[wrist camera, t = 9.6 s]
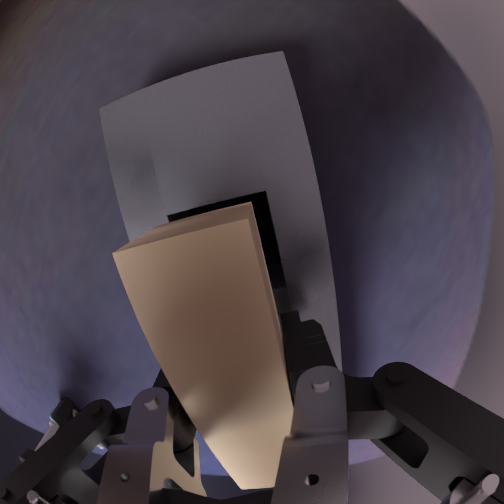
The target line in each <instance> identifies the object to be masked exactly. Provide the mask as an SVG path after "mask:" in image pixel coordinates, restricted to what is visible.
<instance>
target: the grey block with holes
mask: <svg viewBox="0 0 504 504" xmlns="http://www.w3.org/2000/svg"><path fill="white" fill-rule="evenodd" d="M99 110H100V117H101V123H102V129H103V135H104V141H105V146H106V151H107V156H108V161H109V165H110V170H111V174H112V179H113V183H114V187H115V191H116V195H117V199H118V203H119V206H120V210H121V214H122V217H123V221H124V224H125V227H126V231H127V234H128V237H129V241H130V242H131V241H133V240H134V239H136V238H138V237H139V236H141V235H143V234H144V233H146V232H148V231H149V230H151V229H153V228H154V227H156V226H158V225H162V224H165V223H169V222H172V221H176V220H180V219H183V218H187V217H189V216H188V212H187V210H189V209H192V208H196V207H200V206H204V205H208V204H212V203H215V202H219V201H223V200H228V199H232V198H236V197H240V196H244V195H249V194H253V193H257V192H262V191H265V192H266V197H267V201H268V205H269V210H270V214H271V219H272V223H273V228H274V232H275V237H276V241H277V246H278V251H279V255H280V260H281V264H276V265H271V266H267V270H268V274H269V279H270V283H271V287H272V292H273V296H274V301H275V305H276V309H277V314H278V318H279V323H280V327H281V331H282V325H281V317H280V314H281V313H286V312H290V311H295V310H298V312H299V316H300V320H301V322H302V321H307V320H311V319H314V320H315V321H317V322H318V323H320V324H321V325H322V328H323V331H324V334H325V336H326V339H327V341H328V344H329V347H330V350H331V352H332V355H333V358H334V360H335V363H336V366H337V368H338V369H339V370H340V371H341V372H342V360H341V345H340V333H339V322H338V312H337V302H336V293H335V285H334V277H333V270H332V262H331V256H330V249H329V242H328V236H327V230H326V224H325V218H324V213H323V207H322V202H321V197H320V192H319V187H318V182H317V177H316V172H315V167H314V163H313V158H312V154H311V150H310V145H309V141H308V137H307V133H306V129H305V125H304V121H303V117H302V113H301V110H300V106H299V102H298V99H297V95H296V92H295V88H294V85H293V81H292V78H291V75H290V71H289V68H288V65H287V62H286V59H285V56H284V53H283V51H279V52H273V53H266V54H261V55H255V56H250V57H245V58H240V59H236V60H231V61H227V62H223V63H219V64H215V65H211V66H208V67H204V68H201V69H197V70H194V71H191V72H188V73H184V74H181V75H178V76H175V77H173V78H170V79H167V80H164V81H161V82H159V83H156V84H154V85H151V86H148V87H146V88H144V89H141V90H139V91H136V92H134V93H132V94H129V95H127V96H125V97H123V98H121V99H118V100H116V101H114V102H112V103H110V104H108V105H106V106H104V107H102V108H100V109H99ZM282 336H283V332H282ZM283 340H284V339H283Z"/></svg>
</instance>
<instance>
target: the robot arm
mask: <svg viewBox="0 0 504 504" xmlns="http://www.w3.org/2000/svg"><path fill="white" fill-rule="evenodd" d="M280 317H281V325H282V332H283V339H284V346H285V354H286V361H287V369H288V375H289V379H290V384H291V388H292V393H293V397H294V410H293V417H292V424H291V430H290V434H289V435H286V436H285V438H284V441H283V445H282V450H281V456H280V461H279V466H278V471H277V476H276V481H275V486H274V490H265V491H258V492H254V493H251V494H247V495H243V496H238V497H233V498H229V499H223V500H218V499H213V498H209V497H207V495H206V493H205V490H204V488H203V486H202V484H201V480H200V463H199V443H198V439H197V438H196V436H195V433H196V429H197V428H196V427H195V425H194V424H193V422H192V421H191V419H190V417H189V416H188V414H187V413H186V411H185V409H184V408H183V406H182V404H181V403H180V401H179V399H178V397H177V396H176V394H175V392H174V391H173V389H172V387H171V385H170V383H169V382H168V380H167V378H166V376H165V374H164V372H163V370H162V369H160V372H159V374H158V376H157V378H156V381H155V383H154V385H153V387H152V388H148V389H145V390H143V391H142V392H140V393H139V394H138V395H137V396H136V397H135V398H134V399H133V402H132V405H131V406H127V407H122V408H118V409H115V408H114V407H113V405H112V404H111V402H110V401H108V400H105V399H99V400H95V401H93V402H91V403H90V404H88V405H87V406H86V407H85V408H84V409H82V410H81V411H80V412H79V413H78V414H77V415H76V416H75V417H73V418H72V419H71V420H70V421H69V422H68V423H67V424H66V425H64V426H63V427H62V428H61V429H60V430H59V431H58V432H57V433H55V434H54V435H53V436H52V437H51V438H50V439H49V440H47V441H46V442H45V443H44V444H43V445H42V446H41V447H40V448H38V449H37V450H36V451H35V452H34V453H33V454H32V455H30V456H29V457H28V458H27V459H26V460H25V461H24V462H23V463H22V464H20V465H19V466H18V467H17V468H16V469H15V470H13V471H12V472H11V473H10V474H9V475H8V476H7V477H5V478H4V479H3V480H2V481H1V482H0V504H347V501H348V439H370V440H371V441H372V442H373V443H374V444H375V445H376V446H377V447H378V448H379V449H380V450H382V451H383V452H384V453H385V454H386V455H387V456H388V457H389V458H391V459H392V460H393V461H394V462H395V463H396V464H397V465H399V466H400V467H401V468H402V469H403V470H404V471H406V472H407V473H408V474H409V475H410V476H412V477H413V478H414V479H415V480H416V481H417V482H419V483H420V484H421V485H422V486H424V487H425V488H426V489H427V490H429V491H430V492H431V493H432V494H433V495H435V496H436V497H437V498H439V499H440V500H441V501H442V502H441V504H504V419H503V418H501V417H500V416H498V415H496V414H494V413H492V412H491V411H489V410H487V409H485V408H484V407H482V406H480V405H479V404H477V403H475V402H473V401H472V400H470V399H468V398H467V397H465V396H463V395H461V394H460V393H458V392H456V391H454V390H453V389H451V388H449V387H448V386H446V385H444V384H443V383H441V382H439V381H438V380H436V379H434V378H432V377H431V376H429V375H427V374H426V373H424V372H422V371H421V370H419V369H417V368H416V367H414V366H412V365H410V364H408V363H404V362H393V363H389V364H386V365H384V366H382V367H380V368H379V369H378V370H377V371H376V372H375V374H374V376H373V377H361V378H360V377H351V376H348V375H345V374H343V373H342V372H341V371H340V370H339V369H338V368H337V366H336V363H335V360H334V358H333V355H332V352H331V350H330V347H329V344H328V341H327V339H326V336H325V334H324V331H323V328H322V325H321V324H320V323H318V322H317V321H315V320H314V319H311V320H307V321H302V322H301V320H300V316H299V312H298V310H295V311H290V312H286V313H281V314H280ZM100 442H101V443H102V444H103V445H104V446H105V447H106V448H107V449H108V451H107V452H106V453H105V454H104V455H103V457H102V458H101V459H100V460H99V461H98V462H97V463H96V464H95V465H94V466H93V467H92V468H90V469H89V470H82V469H81V468H80V463H81V461H82V460H83V459H84V458H85V457H86V456H87V455H88V454H89V453H90V452H91V451H92V450H93V449H94V448H95V447H96V446H97V445H98V444H99V443H100Z"/></svg>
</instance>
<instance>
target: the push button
mask: <svg viewBox="0 0 504 504" xmlns="http://www.w3.org/2000/svg"><path fill="white" fill-rule="evenodd" d="M79 412H80V411H79V410H77V409H76V408H75V407H74V406H73V403H72V402H71V401H70V400H69V399H64V400H62V401H60V402H58V403H57V405H56V406H55V407H54V409H53V410H52V412H51V413H50V415H49V418H50V419H51V421H50V422H49V424H50V425H51V426H50V427H49V429H48V430H47V432H46V433H45V435H44V437H43V438H42V440H41V442H40V443H39V444H38V446H37V448H36V449H35V451H36V450H37V449H38V448H40V447H41V446H42V445H43V444H44V443H45V442H46V441H47V440H49V439H50V438H51V437H52V436H53V435H54V434H55V433H57V432H58V431H59V430H60V429H61V428H62V427H63V426H64V425H66V424H67V423H68V422H69V421H70V420H71V419H72V418H73V417H75V416H76V415H77V414H78V413H79ZM98 445H99V446H98ZM98 445H97V446H98V447H99V448H100V449H104V447H103V446H101V445H100V444H98ZM100 446H101V447H100ZM35 451H33V450H30V449H26V451H25V453H24V454H23V455H20V456H19V459H20V460H21V462H22V463H23V462H24V461H25V460H26V459H27V458H28V457H29V456H30V455H32V454H33V453H34V452H35Z"/></svg>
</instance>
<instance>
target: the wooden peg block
mask: <svg viewBox="0 0 504 504" xmlns="http://www.w3.org/2000/svg"><path fill="white" fill-rule="evenodd" d="M112 254H113V257H114V260H115V263H116V266H117V268H118V271H119V274H120V277H121V279H122V282H123V285H124V287H125V290H126V292H127V295H128V297H129V300H130V302H131V305H132V307H133V309H134V312H135V314H136V316H137V319H138V321H139V323H140V325H141V328H142V330H143V332H144V334H145V336H146V338H147V341H148V343H149V345H150V347H151V349H152V351H153V353H154V355H155V357H156V359H157V361H158V363H159V365H160V367H161V369H162V370H163V372H164V374H165V376H166V378H167V380H168V382H169V383H170V385H171V387H172V389H173V391H174V392H175V394H176V396H177V397H178V399H179V401H180V403H181V404H182V406H183V408H184V409H185V411H186V413H187V414H188V416H189V417H190V419H191V421H192V422H193V424H194V425H195V427H196V428H197V430H198V431H199V433H200V434H201V436H202V437H203V439H204V440H205V442H206V443H207V445H208V446H209V448H210V449H211V450H212V452H213V453H214V455H215V456H216V457H217V459H218V460H219V461H220V463H221V464H222V465H223V467H224V468H225V469H226V471H227V472H228V473H229V475H230V476H231V477H232V478H233V480H234V481H235V482H236V483H237V485H238V486H239V487H240V488H241V489H256V488H268V487H274V486H275V481H276V476H277V471H278V466H279V461H280V456H281V450H282V445H283V441H284V438H285V436H286V435H289V434H290V430H291V424H292V417H293V410H294V397H293V393H292V388H291V384H290V379H289V375H288V369H287V361H286V354H285V346H284V340H283V336H282V331H281V327H280V323H279V318H278V314H277V309H276V305H275V301H274V296H273V292H272V287H271V283H270V279H269V274H268V270H267V266H266V261H265V257H264V253H263V249H262V244H261V240H260V236H259V232H258V227H257V223H256V219H255V215H254V211H253V206H252V202H247V203H243V204H239V205H235V206H230V207H226V208H222V209H218V210H214V211H210V212H206V213H202V214H199V215H195V216H191V217H187V218H183V219H180V220H176V221H172V222H169V223H165V224H162V225H158V226H156V227H154V228H153V229H151V230H149V231H148V232H146V233H144V234H143V235H141V236H139V237H138V238H136V239H134V240H133V241H131V242H129V243H128V244H126V245H125V246H123V247H121V248H120V249H118V250H117V251H115V252H113V253H112Z"/></svg>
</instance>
